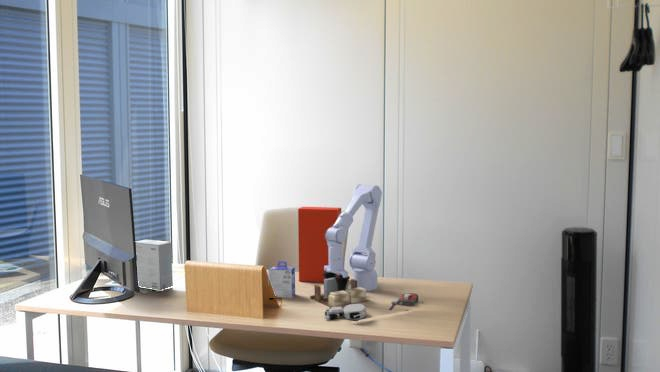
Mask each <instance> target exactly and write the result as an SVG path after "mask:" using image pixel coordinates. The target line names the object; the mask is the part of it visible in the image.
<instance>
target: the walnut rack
mask: <svg viewBox="0 0 660 372" xmlns="http://www.w3.org/2000/svg"><path fill="white" fill-rule="evenodd" d="M353 288H357V280H354V278H351V279H350V289H353ZM309 299H311V300H312V301H314V302H317V303H319V304H322V305H324V306H327V307H328V308H330V307H334V306H331V305H329V297H324V293H322V288H321V285H319V284H316V285H314V295H309ZM367 302H372V300H370V299H368V298H366V301H362V302H357V303H350V304H363V303H367ZM347 305H349V304H346V305H341V306H335V307H345V306H347Z"/></svg>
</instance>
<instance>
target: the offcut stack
mask: <svg viewBox="0 0 660 372" xmlns="http://www.w3.org/2000/svg"><path fill="white" fill-rule="evenodd" d="M328 297H329V305H331V306H334V307H335V306H341V305H346V304H350V303H357V302H362V301H366V299H367V291H366V289H364V288H361V287H359V288H353V289H351V288H348V289H347V290H345V291H343V290H342V291H336V292H331V293H330V295H328ZM362 303H363V302H362ZM357 304H358V303H357ZM346 306H347V305H346ZM341 307H342V306H341Z"/></svg>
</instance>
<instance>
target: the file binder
mask: <svg viewBox="0 0 660 372" xmlns="http://www.w3.org/2000/svg"><path fill="white" fill-rule="evenodd" d="M341 213H342V207H327V206H325V207H323V206H302V207H300V208H298V209H297V218H298V220H297V224H298V225H297V226H298V229H297V230H298V237H297V238H298V281H299V282H307V283H308V282H309V283H310V282H311V283H324V279H325V277H324V275H323V272H326V271H324V266H326V265H329V246H328V245H327V240H326V238H325V235H326V231H327V230H328V229H329V228H331V227H333V225H334V223H335V222H336V220H337V219H338V217H339V215H340V214H341ZM338 276H340V275H337V274H336V277H338Z"/></svg>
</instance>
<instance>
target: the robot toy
mask: <svg viewBox="0 0 660 372" xmlns="http://www.w3.org/2000/svg"><path fill="white" fill-rule="evenodd" d="M365 303H366V302H362V303H357V304H349V305H346V306H341V307H328V308H326V309H325V312H324V319H325V320H330V321H331V320H335V319H341V318H345V319H347V320H352V321H353V322H358V321H359V320H361V319H363V318H365V316H367V307H366V306H365Z"/></svg>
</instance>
